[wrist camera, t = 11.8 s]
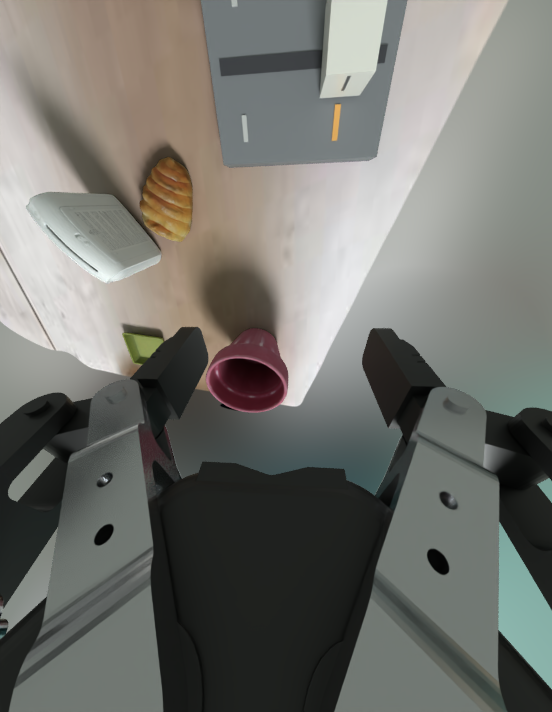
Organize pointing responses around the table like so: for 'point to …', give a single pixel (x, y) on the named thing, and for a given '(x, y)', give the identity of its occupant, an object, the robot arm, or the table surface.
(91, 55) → the table surface
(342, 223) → the table surface
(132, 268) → the photo printer
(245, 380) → the plant pot
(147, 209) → the pastry
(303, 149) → the console
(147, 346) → the saucer
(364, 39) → the fader tab
